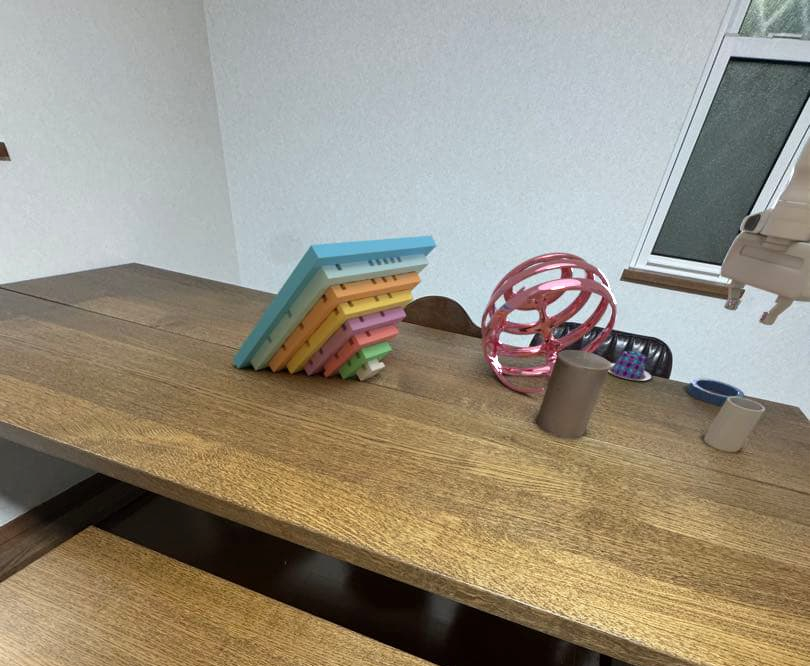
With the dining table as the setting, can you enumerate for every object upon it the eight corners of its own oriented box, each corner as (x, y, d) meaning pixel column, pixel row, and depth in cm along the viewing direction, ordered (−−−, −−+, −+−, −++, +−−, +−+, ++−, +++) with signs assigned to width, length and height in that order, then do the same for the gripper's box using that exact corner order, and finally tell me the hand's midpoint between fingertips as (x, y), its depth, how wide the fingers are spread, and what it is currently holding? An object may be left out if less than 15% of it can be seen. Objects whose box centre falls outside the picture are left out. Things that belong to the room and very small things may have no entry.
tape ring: (725, 391, 117) (730, 382, 115) (747, 411, 108) (753, 401, 106) (679, 385, 117) (683, 375, 116) (697, 404, 108) (702, 394, 106)
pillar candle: (529, 415, 93) (552, 340, 84) (574, 418, 95) (601, 344, 85) (544, 438, 86) (570, 358, 76) (592, 441, 87) (624, 363, 78)
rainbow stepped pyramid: (277, 431, 100) (368, 347, 74) (232, 359, 97) (311, 244, 71) (375, 389, 123) (471, 313, 97) (341, 330, 120) (431, 235, 94)
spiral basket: (652, 326, 80) (621, 207, 87) (494, 350, 83) (475, 233, 89) (604, 409, 107) (583, 313, 114) (485, 424, 110) (472, 330, 116)
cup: (728, 440, 94) (754, 399, 88) (743, 455, 89) (772, 413, 83) (697, 436, 94) (721, 394, 88) (710, 451, 89) (736, 408, 83)
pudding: (653, 375, 121) (662, 355, 118) (645, 387, 113) (654, 366, 110) (609, 362, 126) (617, 343, 122) (598, 373, 118) (605, 353, 114)
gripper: (868, 237, 67) (805, 334, 76) (767, 220, 82) (725, 303, 91) (832, 233, 66) (773, 332, 75) (737, 216, 81) (698, 301, 90)
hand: (746, 316), depth 83 cm, fingers open, 8 cm apart
